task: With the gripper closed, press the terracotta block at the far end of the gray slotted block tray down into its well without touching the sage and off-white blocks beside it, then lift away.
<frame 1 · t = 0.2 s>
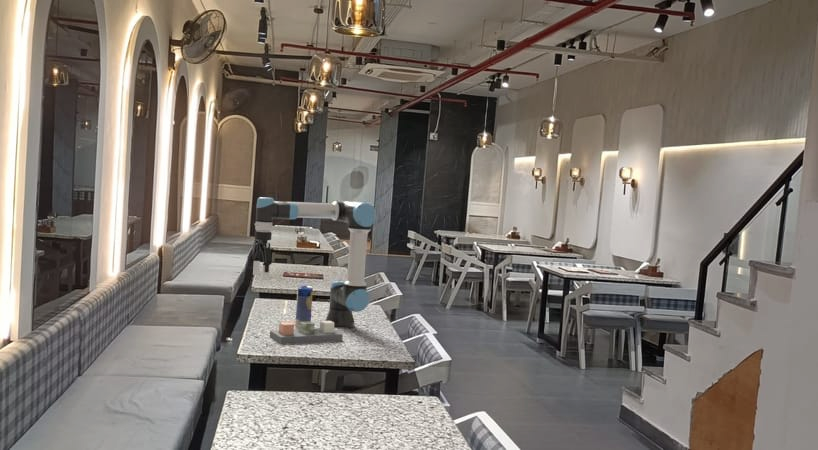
hand: (260, 277, 330), 28 cm above the table, tool pointing down, fingers open, 13 cm apart
off-white block: (326, 327, 334), point 6 cm above the table, slide at 0.0 cm
gray slotted block tray: (306, 341, 329), on the table
terracotta block: (286, 329, 324), point 6 cm above the table, slide at 0.0 cm
sage block: (306, 328, 329), point 6 cm above the table, slide at 0.0 cm
beverage box: (302, 332, 346), on the table
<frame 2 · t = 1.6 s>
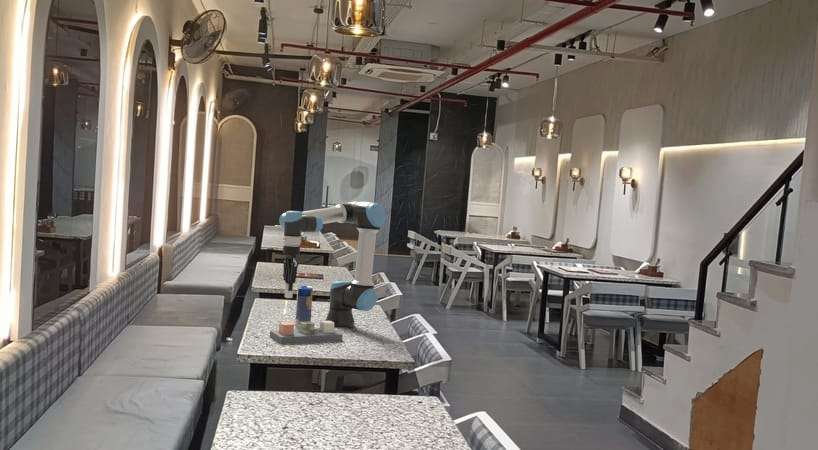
hand: (288, 297, 323), 20 cm above the table, tool pointing down, fingers closed
nothing on the table moved.
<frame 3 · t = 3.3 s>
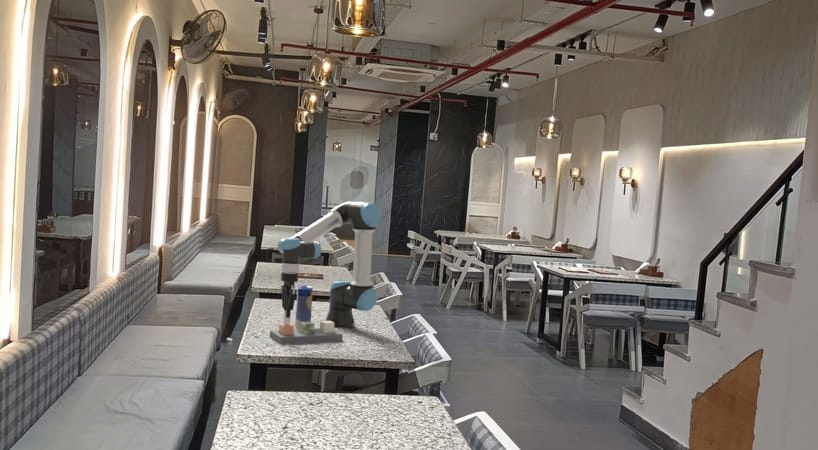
hand: (286, 324, 323), 8 cm above the table, tool pointing down, fingers closed
terracotta block: (286, 330, 324), point 5 cm above the table, slide at 0.6 cm, touching gripper
everything else where it was.
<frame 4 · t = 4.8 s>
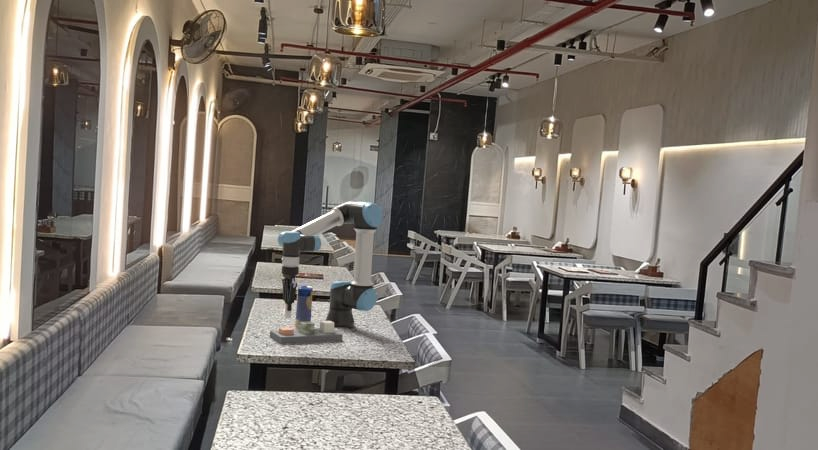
hand: (287, 317, 324), 11 cm above the table, tool pointing down, fingers closed
terracotta block: (286, 334, 324), point 4 cm above the table, slide at 2.3 cm
everything else where it was.
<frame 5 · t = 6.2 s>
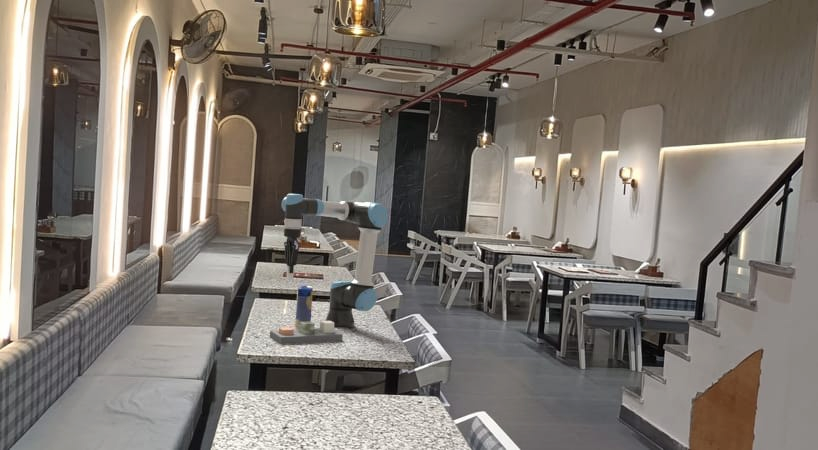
hand: (289, 279, 324), 28 cm above the table, tool pointing down, fingers closed
nothing on the table moved.
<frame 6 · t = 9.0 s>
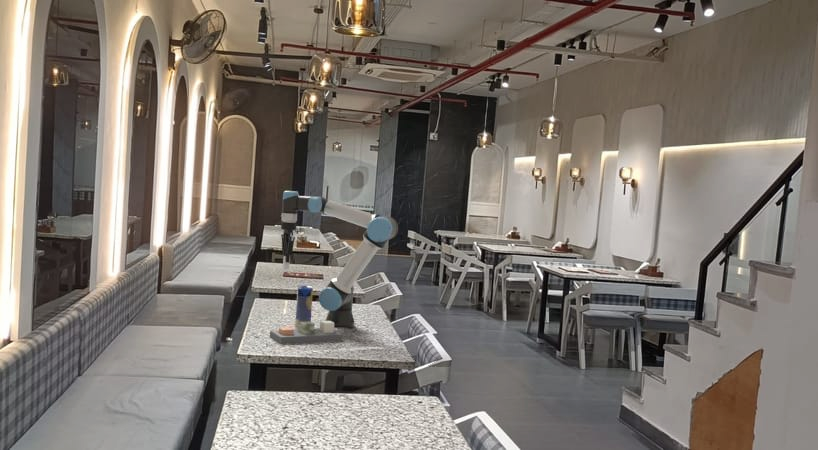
hand: (285, 268, 359), 28 cm above the table, tool pointing down, fingers closed
nothing on the table moved.
at the end: terracotta block slide at 2.3 cm; sage block slide at 0.0 cm; off-white block slide at 0.0 cm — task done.
